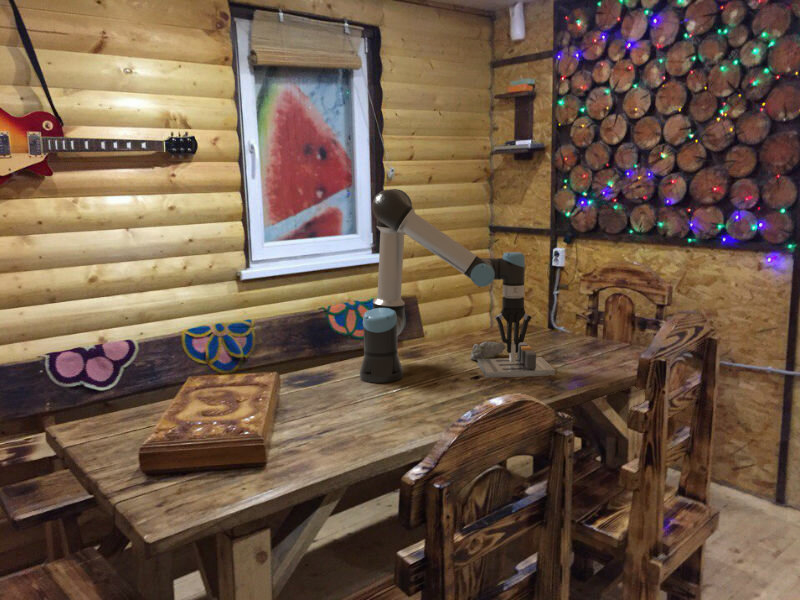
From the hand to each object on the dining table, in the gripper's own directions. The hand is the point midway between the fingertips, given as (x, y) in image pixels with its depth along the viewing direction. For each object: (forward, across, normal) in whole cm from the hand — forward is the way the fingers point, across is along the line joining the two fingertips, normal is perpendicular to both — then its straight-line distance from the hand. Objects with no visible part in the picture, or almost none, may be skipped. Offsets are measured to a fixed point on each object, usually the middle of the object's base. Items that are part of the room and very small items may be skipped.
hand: (512, 361), depth 233 cm
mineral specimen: (+4, -6, +17) cm, 18 cm away
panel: (+3, +1, 0) cm, 3 cm away
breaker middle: (+1, +5, 0) cm, 5 cm away
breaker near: (+1, +5, -6) cm, 8 cm away
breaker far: (+1, +5, +5) cm, 7 cm away
